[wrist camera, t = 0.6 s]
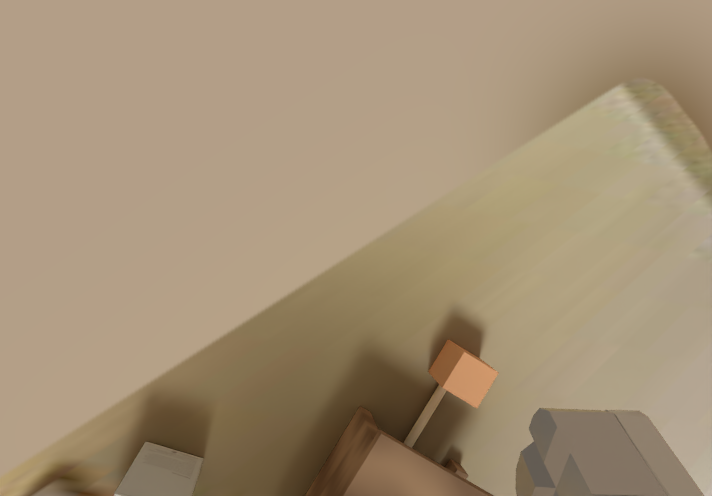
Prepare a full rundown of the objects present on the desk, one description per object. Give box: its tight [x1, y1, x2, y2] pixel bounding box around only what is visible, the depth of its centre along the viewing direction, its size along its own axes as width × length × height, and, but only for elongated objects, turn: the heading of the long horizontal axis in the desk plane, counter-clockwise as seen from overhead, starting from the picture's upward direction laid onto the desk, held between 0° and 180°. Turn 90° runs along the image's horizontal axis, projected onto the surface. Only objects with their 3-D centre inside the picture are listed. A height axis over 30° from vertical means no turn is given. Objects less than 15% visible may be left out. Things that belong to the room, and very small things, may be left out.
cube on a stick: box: [404, 339, 498, 448], centre depth 56 cm, size 21×7×6 cm, turn 148°
